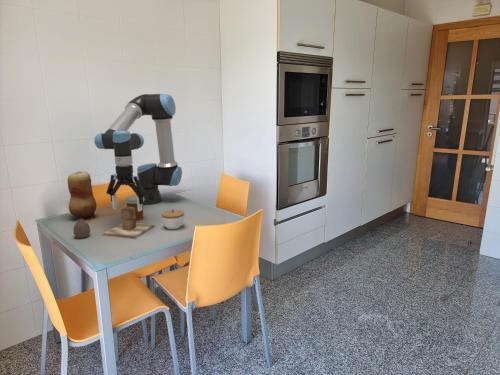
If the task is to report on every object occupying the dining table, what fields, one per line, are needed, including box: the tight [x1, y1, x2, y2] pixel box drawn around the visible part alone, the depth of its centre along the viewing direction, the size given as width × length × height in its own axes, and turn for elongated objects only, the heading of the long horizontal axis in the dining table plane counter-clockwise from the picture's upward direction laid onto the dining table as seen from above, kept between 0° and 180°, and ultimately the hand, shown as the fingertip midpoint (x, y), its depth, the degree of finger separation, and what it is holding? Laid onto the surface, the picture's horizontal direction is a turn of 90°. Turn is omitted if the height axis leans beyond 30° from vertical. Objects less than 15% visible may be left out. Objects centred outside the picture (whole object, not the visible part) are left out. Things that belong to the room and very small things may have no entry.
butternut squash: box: [67, 170, 98, 219], centre depth 190 cm, size 14×13×25 cm
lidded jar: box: [161, 208, 185, 230], centre depth 175 cm, size 11×11×9 cm
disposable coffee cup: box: [125, 195, 145, 222], centre depth 188 cm, size 10×10×12 cm
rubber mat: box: [102, 225, 157, 240], centre depth 172 cm, size 18×18×1 cm
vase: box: [72, 218, 91, 240], centre depth 164 cm, size 7×7×9 cm
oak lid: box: [104, 206, 155, 239], centre depth 171 cm, size 16×16×11 cm
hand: (127, 209), depth 169 cm, fingers open, 13 cm apart
